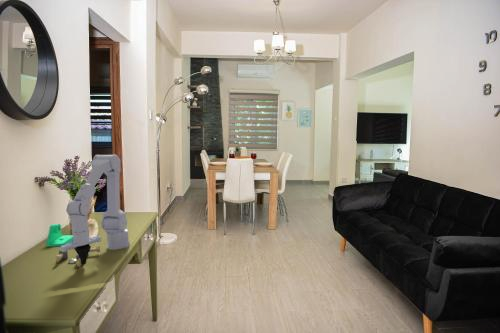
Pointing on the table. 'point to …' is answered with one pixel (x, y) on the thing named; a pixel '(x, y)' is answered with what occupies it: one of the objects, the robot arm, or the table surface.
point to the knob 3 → (94, 250)
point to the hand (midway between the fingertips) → (83, 263)
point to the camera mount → (57, 236)
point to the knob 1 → (62, 256)
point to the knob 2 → (78, 261)
